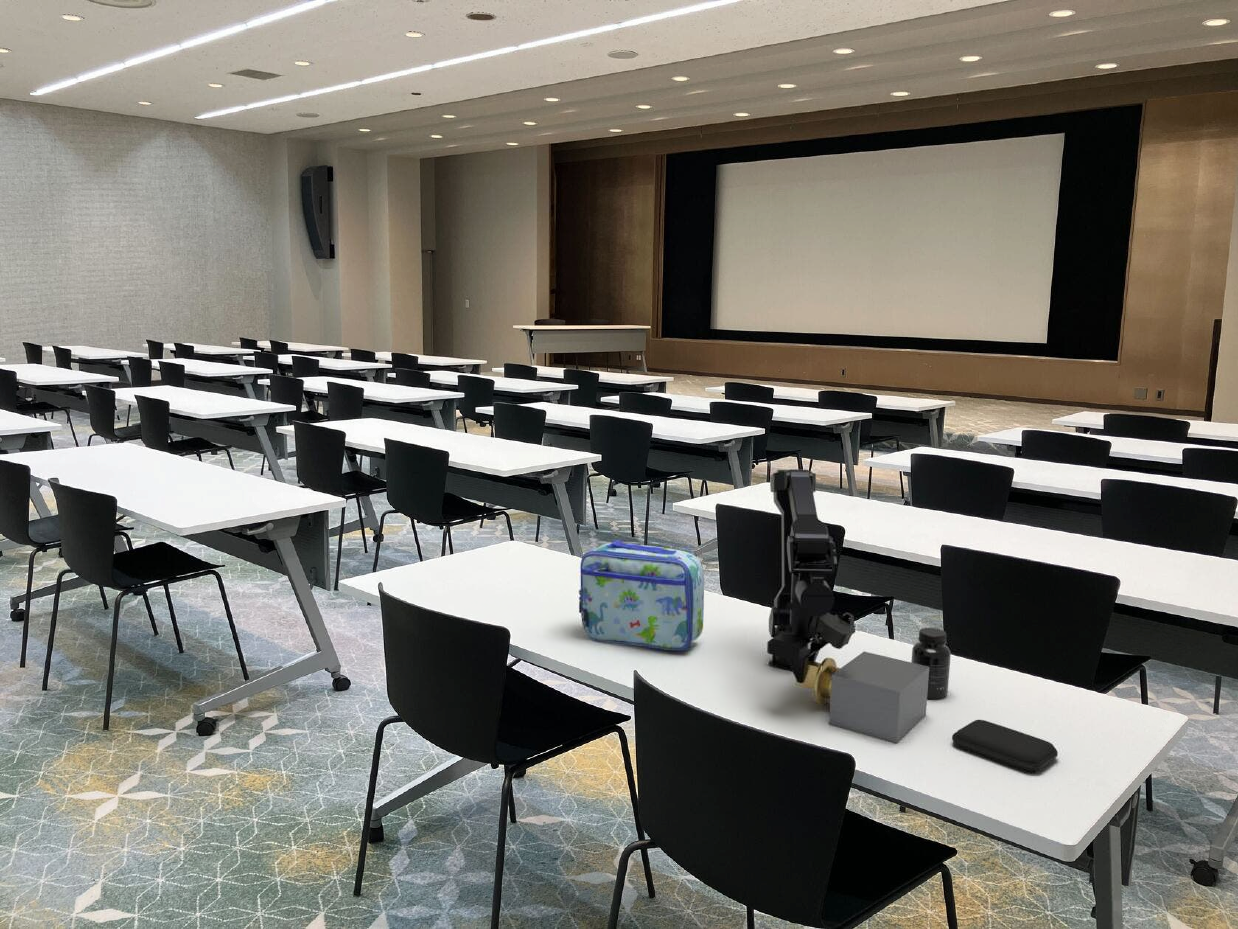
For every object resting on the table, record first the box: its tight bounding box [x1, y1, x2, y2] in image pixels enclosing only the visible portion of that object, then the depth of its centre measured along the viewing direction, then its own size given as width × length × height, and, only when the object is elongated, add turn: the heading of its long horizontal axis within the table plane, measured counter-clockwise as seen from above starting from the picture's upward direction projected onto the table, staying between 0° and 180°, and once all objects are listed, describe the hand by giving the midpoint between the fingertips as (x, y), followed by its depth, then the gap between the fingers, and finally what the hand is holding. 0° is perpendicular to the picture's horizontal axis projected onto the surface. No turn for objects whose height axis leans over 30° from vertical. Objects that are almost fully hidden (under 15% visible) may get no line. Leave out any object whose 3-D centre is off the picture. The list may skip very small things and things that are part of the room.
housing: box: [828, 650, 929, 744], centre depth 170 cm, size 12×14×9 cm
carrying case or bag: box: [951, 719, 1059, 774], centre depth 160 cm, size 11×3×15 cm
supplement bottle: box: [910, 627, 952, 701], centre depth 182 cm, size 7×7×12 cm
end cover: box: [795, 657, 841, 706], centre depth 176 cm, size 11×8×8 cm
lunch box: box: [578, 539, 705, 652], centre depth 206 cm, size 26×11×21 cm, turn 65°
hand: (803, 680), depth 179 cm, fingers closed on end cover, 2 cm apart
